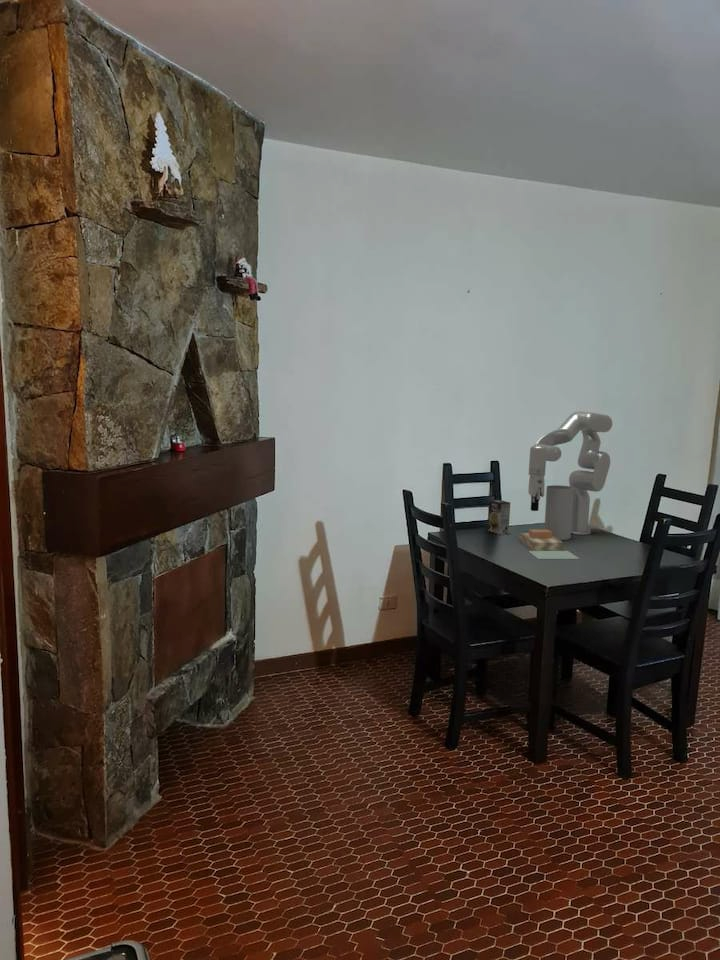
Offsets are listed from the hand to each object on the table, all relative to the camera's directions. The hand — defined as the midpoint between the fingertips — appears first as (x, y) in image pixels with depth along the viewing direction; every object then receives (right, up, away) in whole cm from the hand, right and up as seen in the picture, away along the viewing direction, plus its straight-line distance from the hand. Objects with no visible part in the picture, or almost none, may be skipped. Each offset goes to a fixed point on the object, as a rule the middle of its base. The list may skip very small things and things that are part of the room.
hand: (534, 510), depth 331 cm
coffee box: (-13, -12, +20) cm, 27 cm away
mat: (+2, -19, -25) cm, 31 cm away
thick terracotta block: (+1, -11, -7) cm, 13 cm away
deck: (+1, -16, -7) cm, 18 cm away
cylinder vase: (+14, -14, +10) cm, 22 cm away
